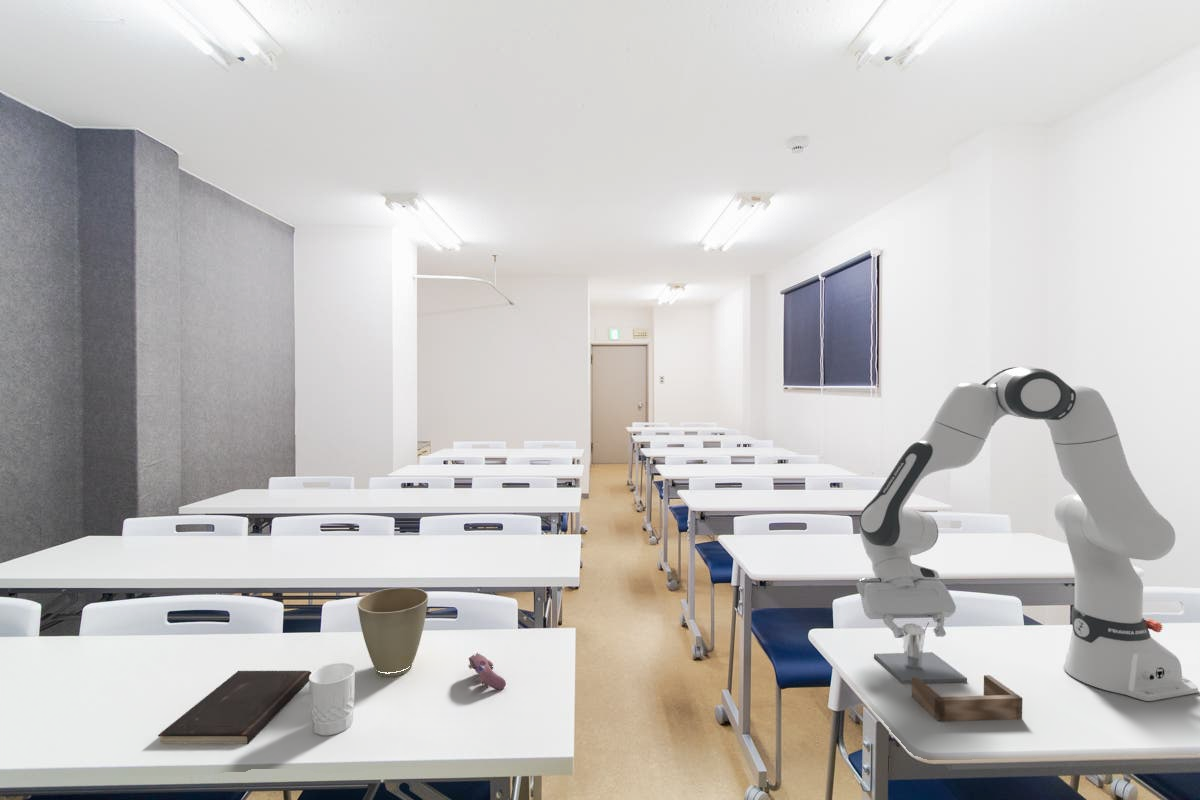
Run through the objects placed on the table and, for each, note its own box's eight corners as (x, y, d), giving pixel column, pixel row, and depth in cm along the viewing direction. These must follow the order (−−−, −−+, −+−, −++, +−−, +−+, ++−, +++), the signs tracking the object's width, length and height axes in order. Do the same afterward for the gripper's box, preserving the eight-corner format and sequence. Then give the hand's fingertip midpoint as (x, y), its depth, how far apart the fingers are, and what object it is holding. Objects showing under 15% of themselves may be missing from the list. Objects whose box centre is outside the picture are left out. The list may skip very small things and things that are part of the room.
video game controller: (476, 679, 129) (461, 655, 127) (493, 666, 131) (479, 641, 129) (489, 701, 120) (474, 675, 118) (508, 686, 122) (494, 660, 120)
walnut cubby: (989, 694, 120) (989, 675, 119) (1022, 718, 111) (1022, 698, 111) (911, 696, 119) (911, 677, 119) (938, 721, 110) (938, 700, 110)
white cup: (343, 708, 115) (342, 658, 114) (364, 723, 110) (363, 671, 109) (302, 727, 109) (301, 674, 108) (322, 743, 104) (321, 688, 103)
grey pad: (932, 655, 136) (932, 652, 136) (967, 681, 124) (967, 678, 124) (874, 657, 136) (874, 653, 136) (903, 683, 124) (903, 680, 124)
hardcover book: (158, 747, 104) (158, 734, 103) (238, 681, 127) (238, 670, 126) (248, 747, 104) (248, 734, 104) (312, 680, 127) (311, 670, 126)
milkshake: (931, 671, 127) (932, 626, 127) (905, 669, 128) (905, 624, 128) (924, 662, 132) (925, 618, 131) (898, 659, 133) (899, 616, 132)
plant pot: (342, 679, 126) (341, 606, 125) (390, 649, 140) (389, 584, 139) (399, 692, 121) (398, 616, 120) (442, 660, 135) (441, 591, 134)
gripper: (858, 572, 136) (880, 631, 126) (943, 570, 137) (971, 629, 127) (849, 584, 140) (869, 642, 131) (931, 583, 141) (957, 640, 132)
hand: (920, 636), depth 129 cm, fingers open, 8 cm apart
